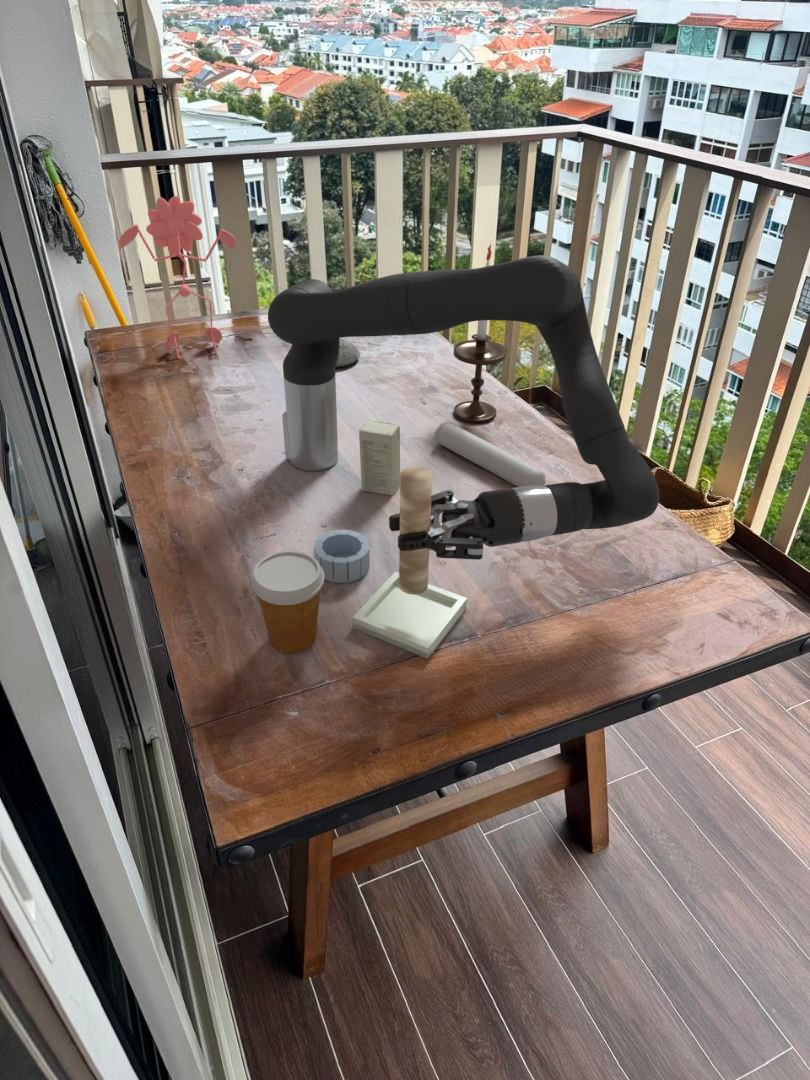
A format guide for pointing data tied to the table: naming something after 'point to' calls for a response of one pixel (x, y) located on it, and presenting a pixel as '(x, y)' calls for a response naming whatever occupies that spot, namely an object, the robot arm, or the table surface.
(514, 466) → the tube
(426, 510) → the dowel
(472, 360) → the candlestick
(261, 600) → the disposable coffee cup
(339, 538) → the holder
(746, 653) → the table surface
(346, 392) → the table surface
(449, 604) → the tray
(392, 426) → the skincare box
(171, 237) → the figurine
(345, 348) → the flying saucer
